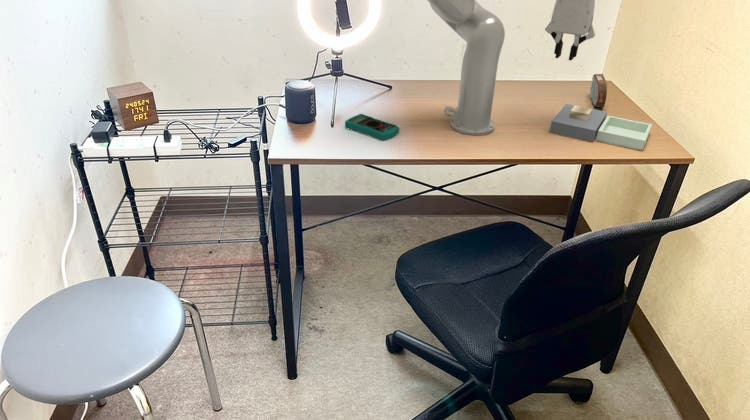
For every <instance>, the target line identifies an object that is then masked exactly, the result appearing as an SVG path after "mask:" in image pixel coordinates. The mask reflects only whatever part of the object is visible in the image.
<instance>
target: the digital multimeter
mask: <svg viewBox="0 0 750 420" xmlns="http://www.w3.org/2000/svg"><path fill="white" fill-rule="evenodd" d="M344 127H346V128H345V129H347V128H349V129H348V130H350V129H352V130H351V131H354V132H357V131H358V132H357V133H360V134H363V135H365V136H368V135H369V137H371V136H372V137H371V138H374V139H377V140H379V141H382V142H385V141H388V140H391V139H393V138H395V137H396V136H397V135H399V134H400V126H399V125H397V124H395V123H390V122H387V121H383V120H381V119H378V118H374V117H371V116H369V115H367V114H364V113H358V114H357V115H354V116H352V117H349V118H348V119H347V120H344Z"/></svg>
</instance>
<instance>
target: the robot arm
mask: <svg viewBox="0 0 750 420" xmlns="http://www.w3.org/2000/svg"><path fill="white" fill-rule="evenodd" d="M426 1H427V2H428V3H429V5H430V7H431V9H432V10H433V12H434V13H435V14H436V15H437V16H438V17H439V18H440V19H441V20H442V21H443V22H444V23H445V24H447V25H448V26H449V27H450V28H451V29H452V30H453V31H454V33H456V34H457V35H458V36H459V37H460V38H462V40H463V41H465V42H466V47H465V50H464V54H463V56H462V63H461V70H460V83H459V93H458V102H457V106H456V107H452V106H448V105H446V106H445V107H444V115H445V116H446V117H447V116H448V117H451V120H450V127H451V128H452V129H453V130H454V131H456V132H459V133H461V134H465V135H470V136H471V135H472V136H481V135H487V134H490V133H492V132H494V131H495V128H496V124H495V122H494V121H493V120H492V119H491V118H492V109H493V103H494V96H495V89H496V82H497V81H496V80H497V72H498V65H499V59H500V55H501V53H502V52H501V51H502V49H503V45H504V43H505V42H504V41H505V36H506V35H505V33H506V32H505V26H504V24H503V22H502V20H501V19H500V18H499V17H498V16H497V15H496V14H494V13H492V12H491V11H489V10H487V9H486V8H484V6H482V5H481V4H480V3H479V2H478V1H477V0H426ZM595 2H596V0H555V2H554V7H553V10H552V15H551V18H550V21H549V23H548V24H547V26H546V27H545V29H544V31H545V32H547V34H549V35H550V36H551V37H552V39H553V40H554V43H555V48H554V51H553V53H554V55H555V57H554V58H555V59H559V58H560V57H561V55H562V51H563V45H564V42H563V41H564V40H563V37H564V34H568V35H573V36H574V41H573V43H572V45H570V51H569V55H568V61H573V59H575V58H576V57H577V54H578V50H579V46H580V44H582V43H584V42H585V41H588V40H591V39H593V38H594V37H595V36H596V33H595V30H594V27H593V20H594V13H595V5H596V3H595Z"/></svg>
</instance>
